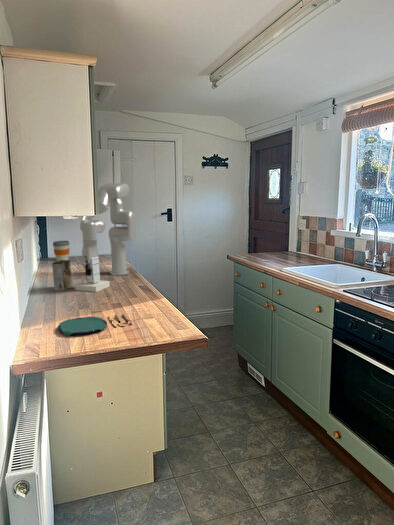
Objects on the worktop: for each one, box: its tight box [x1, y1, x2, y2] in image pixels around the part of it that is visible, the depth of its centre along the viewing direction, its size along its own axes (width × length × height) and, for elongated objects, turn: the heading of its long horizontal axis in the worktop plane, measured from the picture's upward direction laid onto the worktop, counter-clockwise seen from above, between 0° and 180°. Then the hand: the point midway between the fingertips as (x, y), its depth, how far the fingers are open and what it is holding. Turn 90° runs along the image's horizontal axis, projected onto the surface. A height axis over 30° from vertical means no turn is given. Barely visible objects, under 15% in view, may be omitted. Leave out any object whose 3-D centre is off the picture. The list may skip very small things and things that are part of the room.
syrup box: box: [85, 256, 101, 283], centre depth 238 cm, size 6×6×14 cm
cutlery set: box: [57, 314, 132, 337], centre depth 175 cm, size 20×30×2 cm, turn 115°
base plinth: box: [74, 280, 110, 293], centre depth 240 cm, size 14×14×3 cm
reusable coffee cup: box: [52, 240, 70, 262], centre depth 330 cm, size 13×13×15 cm
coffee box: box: [51, 259, 73, 291], centre depth 239 cm, size 9×6×16 cm
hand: (91, 273), depth 239 cm, fingers closed on syrup box, 6 cm apart
